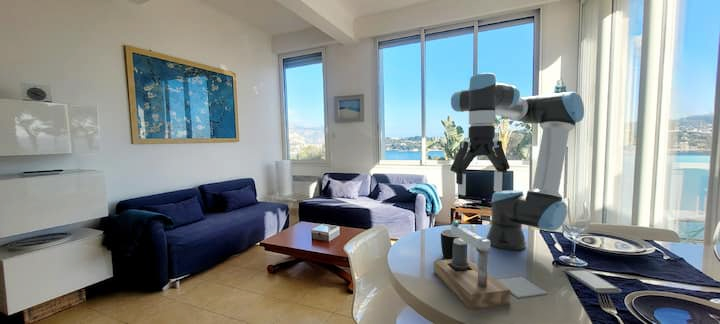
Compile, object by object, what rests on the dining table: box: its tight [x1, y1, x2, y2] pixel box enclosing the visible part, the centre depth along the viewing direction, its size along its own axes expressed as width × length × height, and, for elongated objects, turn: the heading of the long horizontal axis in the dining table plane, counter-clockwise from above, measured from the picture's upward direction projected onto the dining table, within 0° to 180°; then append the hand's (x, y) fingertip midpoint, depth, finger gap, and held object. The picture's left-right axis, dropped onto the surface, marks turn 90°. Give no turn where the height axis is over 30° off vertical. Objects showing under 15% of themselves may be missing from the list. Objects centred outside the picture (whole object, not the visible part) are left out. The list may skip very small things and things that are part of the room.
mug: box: [440, 228, 458, 260], centre depth 111 cm, size 12×9×10 cm
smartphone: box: [562, 267, 622, 294], centre depth 92 cm, size 7×1×15 cm
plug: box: [451, 238, 469, 272], centre depth 94 cm, size 5×5×13 cm
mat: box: [497, 276, 548, 299], centre depth 88 cm, size 10×10×1 cm
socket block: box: [433, 252, 512, 310], centre depth 89 cm, size 12×22×14 cm, turn 12°
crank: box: [450, 220, 491, 254], centre depth 88 cm, size 18×4×4 cm, turn 11°
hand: (480, 193), depth 91 cm, fingers open, 13 cm apart
